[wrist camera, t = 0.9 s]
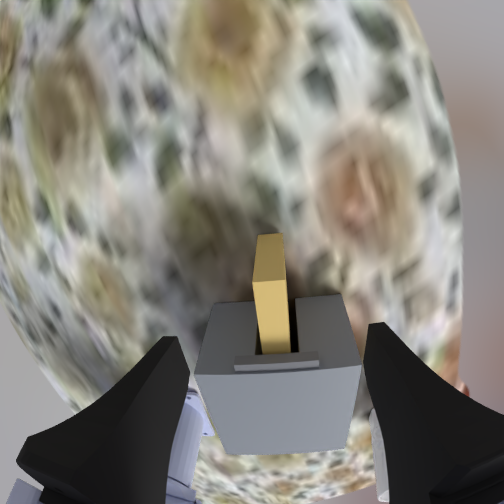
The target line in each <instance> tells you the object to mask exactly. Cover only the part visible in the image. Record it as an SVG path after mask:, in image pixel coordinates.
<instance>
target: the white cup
mask: <svg viewBox="0 0 504 504" xmlns="http://www.w3.org/2000/svg"><path fill="white" fill-rule="evenodd" d="M369 423H370V429H371V434H372V449H373V460H374V469H375V477H376V487H377V498H378V500H379V501H381V502H389V487H388V474H387V465H386V456H385V449H384V443H383V438H382V433H381V429H380V426H379V422H378V419H377V416H376V412H375V409H374V408H373V409H372V410H371V413H370V416H369Z"/></svg>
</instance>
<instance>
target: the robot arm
mask: <svg viewBox="0 0 504 504" xmlns="http://www.w3.org/2000/svg"><path fill="white" fill-rule="evenodd" d="M363 364H364V370H365V375H366V381H367V386H368V389H369V392H370V396H371V399H372V402H373V406H374V409H375V412H376V416H377V419H378V422H379V426H380V429H381V433H382V438H383V443H384V449H385V456H386V465H387V474H388V487H389V504H504V415H502V414H500V413H498V412H496V411H494V410H491V409H489V408H487V407H485V406H483V405H482V404H480V403H478V402H476V401H474V400H473V399H471V398H470V397H468V396H466V395H465V394H463V393H461V392H460V391H458V390H457V389H456V388H454V387H453V386H451V385H450V384H449V383H447V382H446V381H445V380H443V379H442V378H441V377H440V376H438V375H437V374H436V373H435V372H434V371H433V370H431V369H430V368H429V367H428V366H427V365H426V364H425V363H424V362H423V361H422V360H421V359H420V358H418V357H417V356H416V355H415V354H414V353H413V352H412V351H411V350H410V349H409V348H408V347H407V346H406V345H405V343H404V342H403V341H402V340H401V339H400V338H399V337H398V336H397V335H396V334H395V333H394V332H393V331H392V330H391V329H390V328H389V326H388V325H387V324H386V323H385V322H380V323H373V324H369V325H368V333H367V340H366V347H365V354H364V360H363ZM189 376H190V371H189V368H188V365H187V363H186V360H185V357H184V355H183V352H182V349H181V346H180V343H179V340H178V338H177V336H163V337H162V338H161V339H160V340H159V341H158V342H157V343H156V344H155V345H154V346H153V347H152V348H151V349H150V350H149V351H148V352H147V354H146V355H145V356H144V357H143V358H142V359H141V360H140V361H139V362H138V363H137V364H136V365H135V366H134V367H133V368H132V369H131V370H130V371H129V372H128V373H127V374H126V375H125V376H124V377H123V378H122V379H121V380H120V381H119V382H118V383H117V384H116V385H115V386H113V387H112V388H111V389H110V390H109V391H108V392H107V393H105V394H104V395H103V396H102V397H100V398H99V399H98V400H96V401H95V402H94V403H92V404H91V405H90V406H88V407H86V408H85V409H83V410H82V411H80V412H79V413H77V414H76V415H74V416H73V417H71V418H69V419H67V420H65V421H64V422H62V423H60V424H58V425H56V426H54V427H52V428H49V429H47V430H45V431H42V432H40V433H37V434H34V435H32V436H29V437H27V439H26V441H25V443H24V445H23V447H22V449H21V451H20V453H19V455H18V457H17V459H16V462H17V464H18V465H19V467H20V468H21V469H23V470H24V471H25V472H26V473H27V474H29V475H30V476H31V477H32V478H34V479H35V480H36V481H38V482H39V483H40V484H42V485H43V486H44V489H43V491H41V490H39V489H37V488H35V487H34V486H32V485H30V484H28V483H26V482H24V481H23V480H21V479H17V480H16V482H15V484H14V486H13V489H12V491H11V493H10V496H9V498H8V500H7V503H6V504H202V503H201V501H200V500H198V499H195V496H196V490H193V489H191V487H192V481H193V476H194V471H195V466H196V461H197V456H198V451H199V446H200V441H201V436H214V434H215V431H214V429H213V427H212V425H211V422H210V420H209V418H208V415H207V413H206V411H205V408H204V406H203V403H202V401H201V399H200V396H199V394H197V393H195V392H187V390H188V384H189Z"/></svg>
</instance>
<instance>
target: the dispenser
mask: <svg viewBox="0 0 504 504" xmlns="http://www.w3.org/2000/svg"><path fill="white" fill-rule="evenodd" d="M295 307H296V326H297V348H298V353H284V354H268V355H263V353H262V346H261V339H260V332H259V325H258V319H257V312H256V305H255V301H249V302H232V303H214V304H213V307H212V311H211V314H210V318H209V321H208V325H207V328H206V332H205V335H204V339H203V342H202V346H201V350H200V353H199V357H198V360H197V364H196V368H195V371H194V377H195V379H196V382H197V385H198V387H199V390H200V392H201V395H202V397H203V400H204V402H205V405H206V407H207V410H208V412H209V415H210V417H211V419H212V422H213V424H214V426H215V429H216V431H217V433H218V436H219V438H220V440H221V442H222V445H223V447H224V449H225V451H226V453H227V454H239V455H269V454H294V453H308V452H320V451H329V450H338V449H344V448H345V444H346V440H347V436H348V432H349V428H350V423H351V419H352V415H353V410H354V405H355V400H356V395H357V390H358V385H359V380H360V374H361V368H362V363H361V359H360V356H359V352H358V348H357V345H356V341H355V338H354V334H353V331H352V328H351V324H350V321H349V318H348V314H347V311H346V308H345V305H344V301H343V298H342V295H341V294H337V295H326V296H315V297H304V298H295Z"/></svg>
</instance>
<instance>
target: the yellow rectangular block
mask: <svg viewBox="0 0 504 504" xmlns="http://www.w3.org/2000/svg"><path fill="white" fill-rule="evenodd" d="M252 284H253V291H254V298H255V305H256V312H257V319H258V325H259V332H260V339H261V346H262V353H263V355H268V354H284V353H291V339H290V323H289V309H288V295H287V282H286V270H285V258H284V246H283V235H282V233H276V234H264V235H258V238H257V247H256V255H255V264H254V272H253V281H252Z"/></svg>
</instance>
